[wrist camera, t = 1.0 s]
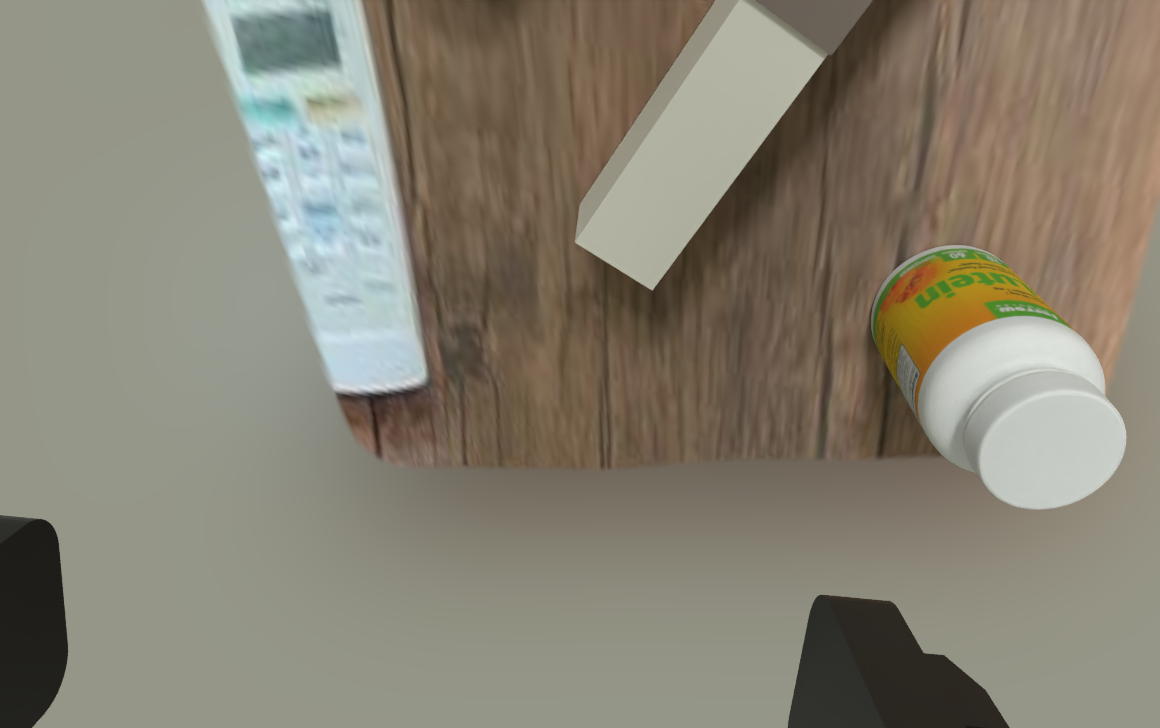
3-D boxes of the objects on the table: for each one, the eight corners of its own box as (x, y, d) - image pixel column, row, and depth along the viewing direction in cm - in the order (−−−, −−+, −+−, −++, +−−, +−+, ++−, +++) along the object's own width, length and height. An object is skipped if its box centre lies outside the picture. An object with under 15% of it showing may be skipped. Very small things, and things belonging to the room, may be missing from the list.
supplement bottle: (1011, 225, 32) (1158, 347, 23) (1019, 355, 34) (1154, 510, 25) (858, 261, 33) (944, 392, 24) (876, 386, 35) (960, 545, 26)
